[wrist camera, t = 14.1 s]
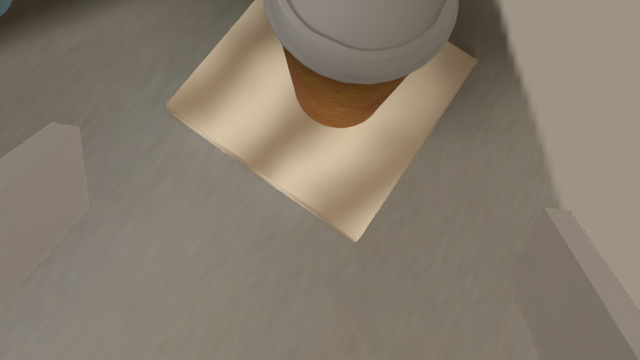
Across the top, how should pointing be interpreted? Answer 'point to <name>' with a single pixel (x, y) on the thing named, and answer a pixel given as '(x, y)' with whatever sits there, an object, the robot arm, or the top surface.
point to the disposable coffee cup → (356, 50)
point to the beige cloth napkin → (312, 124)
